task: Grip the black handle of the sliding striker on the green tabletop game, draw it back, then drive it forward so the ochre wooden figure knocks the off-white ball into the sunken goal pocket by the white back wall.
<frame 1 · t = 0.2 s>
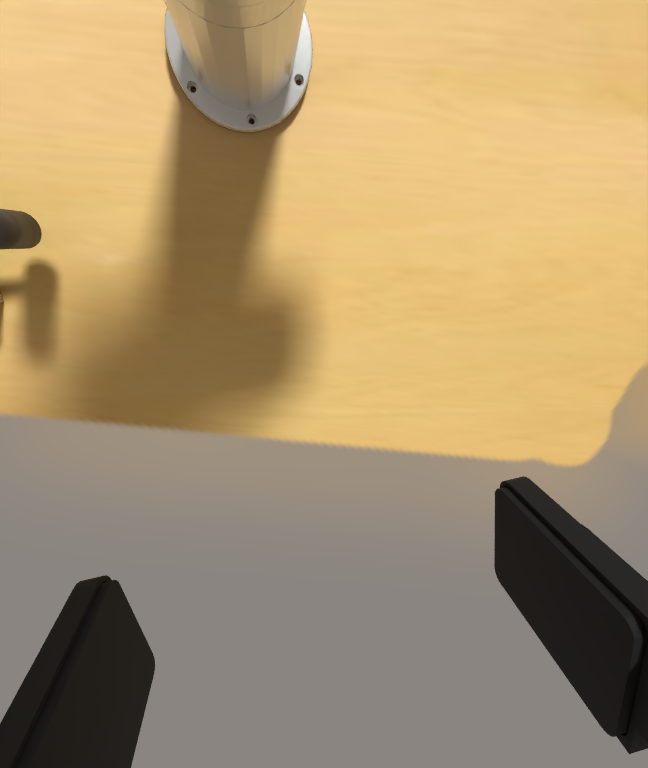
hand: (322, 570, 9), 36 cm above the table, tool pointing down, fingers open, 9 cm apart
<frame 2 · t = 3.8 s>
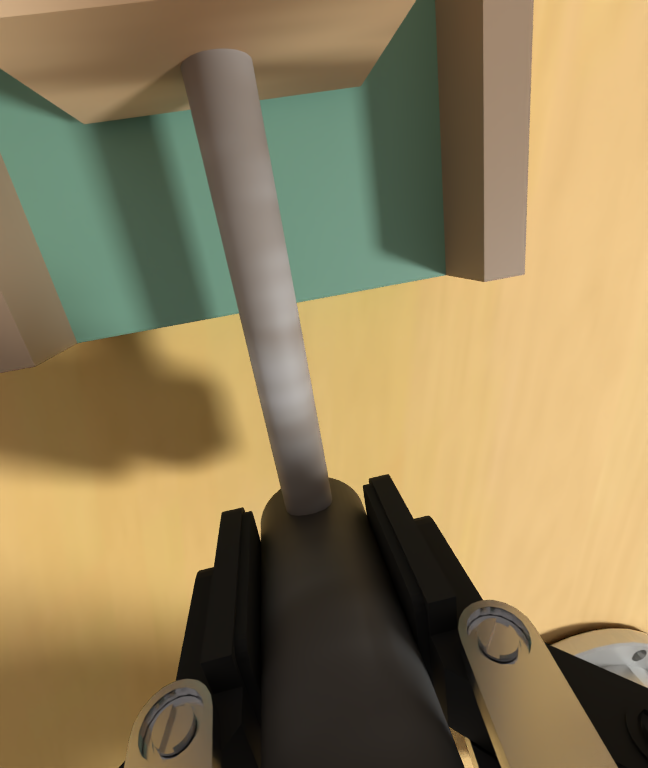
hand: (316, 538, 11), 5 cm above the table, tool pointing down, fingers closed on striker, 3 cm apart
striker: (275, 351, 6), point 7 cm above the table, slide at 4.0 cm, touching gripper
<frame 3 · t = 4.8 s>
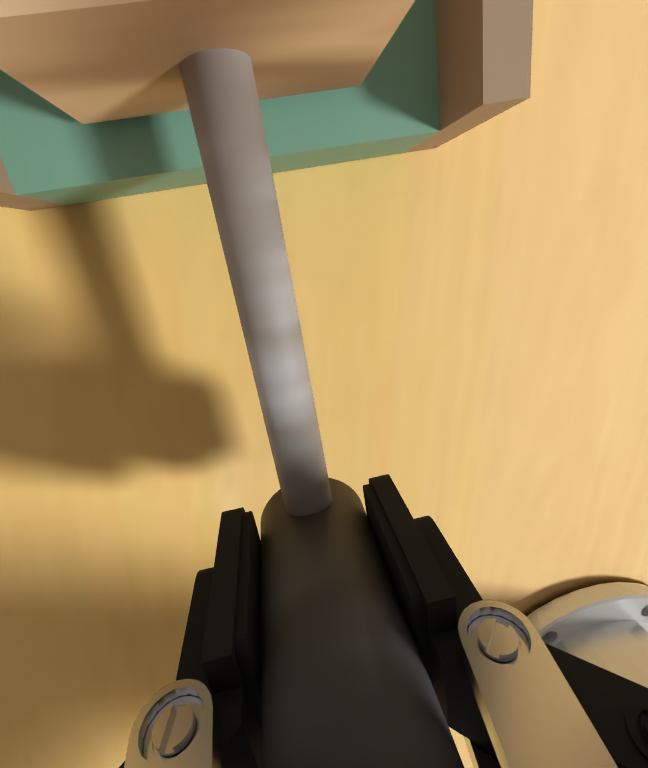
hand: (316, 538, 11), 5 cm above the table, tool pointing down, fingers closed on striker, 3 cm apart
striker: (274, 351, 6), point 7 cm above the table, slide at 0.5 cm, touching gripper
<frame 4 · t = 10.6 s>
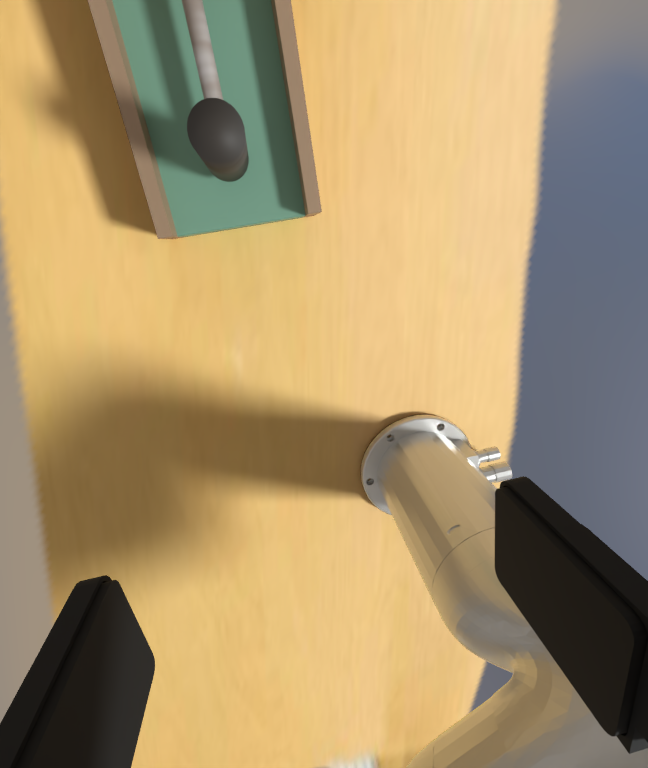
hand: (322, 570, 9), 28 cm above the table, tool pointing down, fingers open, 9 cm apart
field: (201, 33, 28), on the table
striker: (196, 29, 22), point 7 cm above the table, slide at 14.4 cm
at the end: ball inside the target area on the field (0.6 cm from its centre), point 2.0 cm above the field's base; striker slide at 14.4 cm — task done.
